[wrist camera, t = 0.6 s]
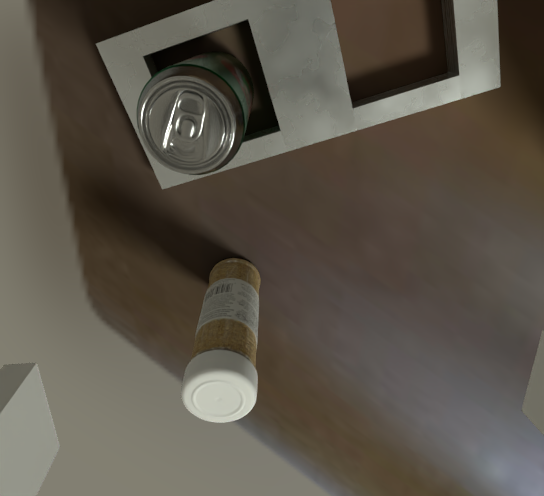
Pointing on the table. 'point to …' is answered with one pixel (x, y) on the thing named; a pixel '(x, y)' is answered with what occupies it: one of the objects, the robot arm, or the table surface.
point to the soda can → (196, 113)
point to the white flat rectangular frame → (307, 70)
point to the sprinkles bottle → (225, 345)
